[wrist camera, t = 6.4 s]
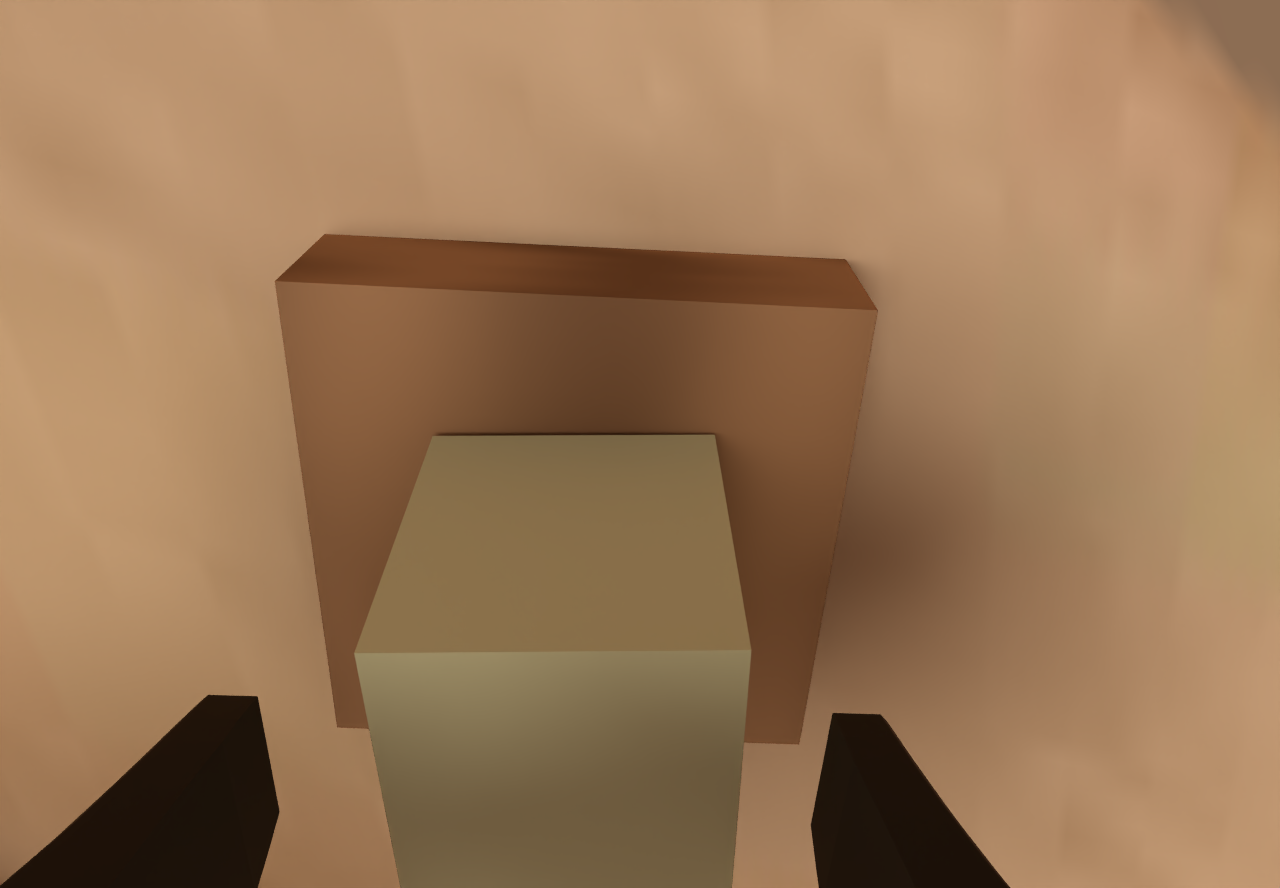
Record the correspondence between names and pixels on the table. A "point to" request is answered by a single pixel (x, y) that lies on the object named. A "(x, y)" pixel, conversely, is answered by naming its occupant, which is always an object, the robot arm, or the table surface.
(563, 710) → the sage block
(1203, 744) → the table surface
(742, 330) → the walnut box
